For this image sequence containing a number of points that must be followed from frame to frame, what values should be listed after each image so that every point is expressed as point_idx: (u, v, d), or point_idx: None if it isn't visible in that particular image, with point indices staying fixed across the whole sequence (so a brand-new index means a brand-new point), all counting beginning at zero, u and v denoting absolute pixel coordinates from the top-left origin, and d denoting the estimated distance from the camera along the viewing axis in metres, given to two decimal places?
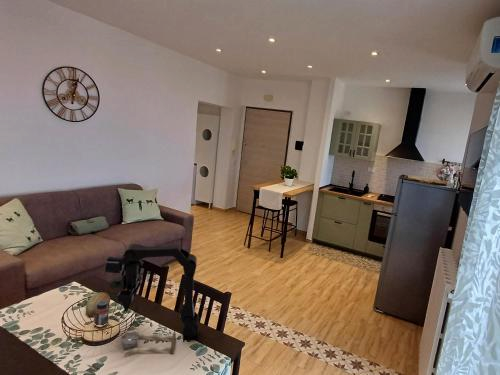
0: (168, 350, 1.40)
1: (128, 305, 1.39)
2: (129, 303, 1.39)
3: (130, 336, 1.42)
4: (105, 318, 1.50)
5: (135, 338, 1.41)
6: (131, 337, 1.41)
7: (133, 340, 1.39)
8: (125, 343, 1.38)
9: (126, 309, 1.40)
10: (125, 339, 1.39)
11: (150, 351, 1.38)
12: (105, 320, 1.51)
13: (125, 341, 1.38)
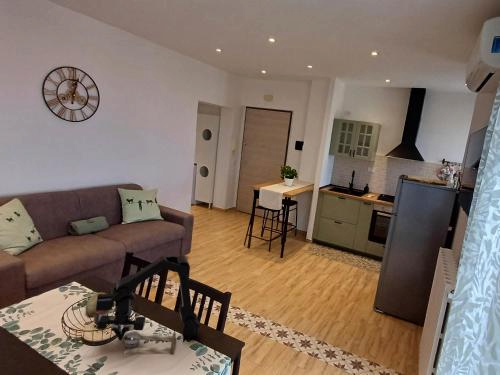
0: (168, 350, 1.40)
1: None
2: None
3: (132, 336, 1.42)
4: None
5: (137, 338, 1.41)
6: (133, 337, 1.41)
7: (135, 340, 1.40)
8: (128, 343, 1.38)
9: None
10: (127, 339, 1.40)
11: (150, 351, 1.38)
12: None
13: (127, 341, 1.39)
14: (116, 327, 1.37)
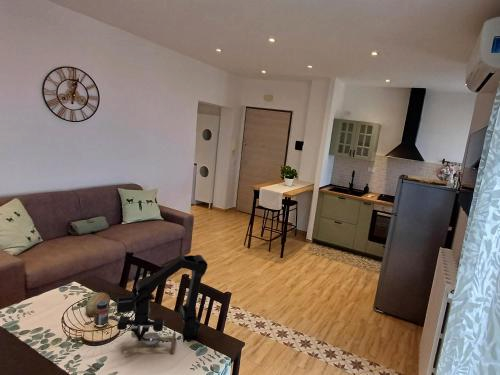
0: (168, 350, 1.40)
1: None
2: None
3: (151, 336, 1.43)
4: (105, 318, 1.50)
5: (156, 338, 1.42)
6: (152, 337, 1.42)
7: (154, 340, 1.41)
8: (147, 343, 1.39)
9: None
10: (146, 339, 1.41)
11: (150, 351, 1.38)
12: (105, 320, 1.51)
13: (147, 341, 1.40)
14: (136, 328, 1.38)
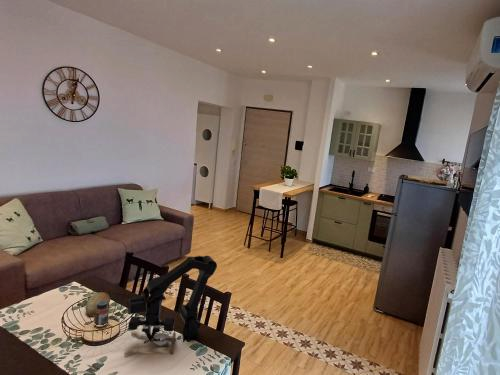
0: (168, 350, 1.40)
1: None
2: None
3: (161, 337, 1.44)
4: (105, 318, 1.50)
5: (166, 339, 1.43)
6: (162, 338, 1.43)
7: (165, 341, 1.41)
8: (157, 344, 1.40)
9: None
10: (157, 340, 1.41)
11: (150, 351, 1.38)
12: (105, 320, 1.51)
13: (157, 342, 1.40)
14: (147, 328, 1.39)
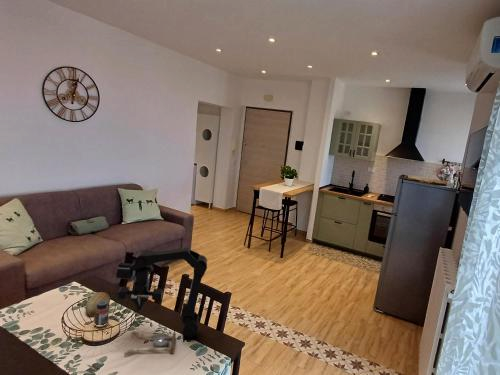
0: (168, 350, 1.40)
1: None
2: None
3: (161, 337, 1.44)
4: (105, 318, 1.50)
5: (166, 339, 1.43)
6: (162, 338, 1.43)
7: (165, 341, 1.41)
8: (157, 344, 1.40)
9: None
10: (157, 340, 1.41)
11: (150, 351, 1.38)
12: (105, 320, 1.51)
13: (157, 342, 1.40)
14: (135, 297, 1.43)
